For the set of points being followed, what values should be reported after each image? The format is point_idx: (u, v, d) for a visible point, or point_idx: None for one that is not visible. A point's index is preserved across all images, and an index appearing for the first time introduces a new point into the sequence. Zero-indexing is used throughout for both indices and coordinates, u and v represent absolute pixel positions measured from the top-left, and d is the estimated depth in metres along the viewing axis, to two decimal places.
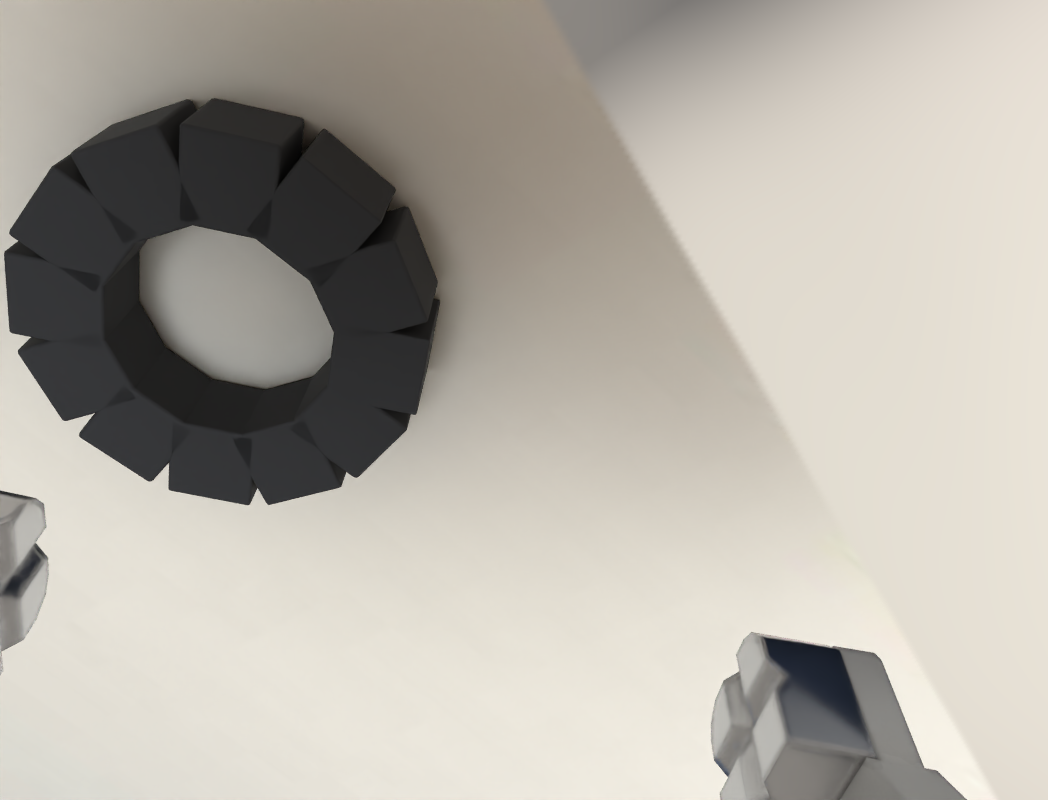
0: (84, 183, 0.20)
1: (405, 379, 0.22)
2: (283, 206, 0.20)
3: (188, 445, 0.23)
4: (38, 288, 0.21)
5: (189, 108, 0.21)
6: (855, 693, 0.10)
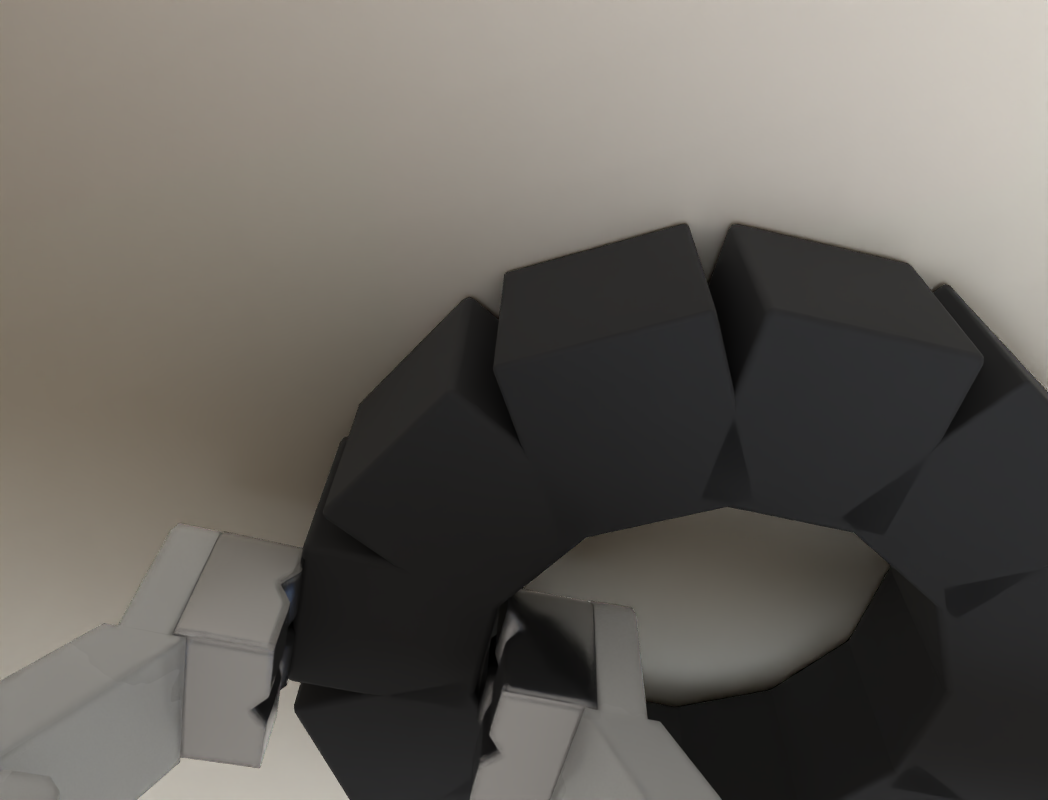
0: None
1: None
2: (560, 459, 0.09)
3: None
4: None
5: None
6: (595, 646, 0.10)
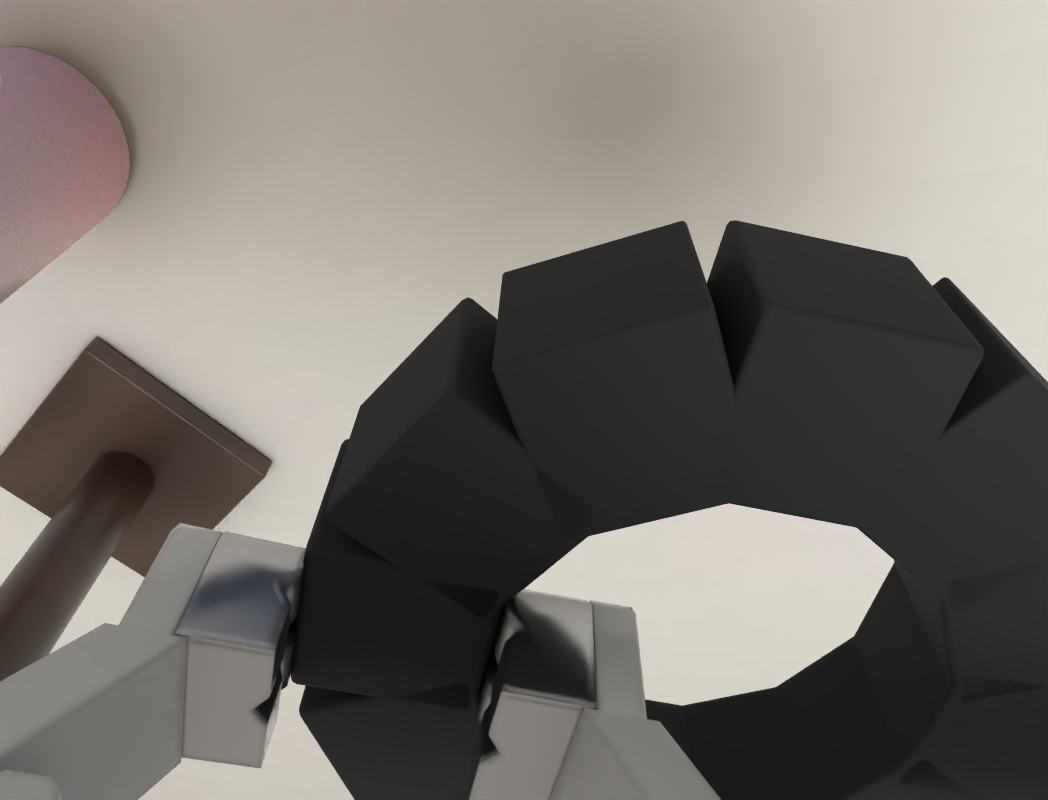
0: None
1: None
2: (561, 458, 0.09)
3: None
4: None
5: None
6: (594, 646, 0.10)
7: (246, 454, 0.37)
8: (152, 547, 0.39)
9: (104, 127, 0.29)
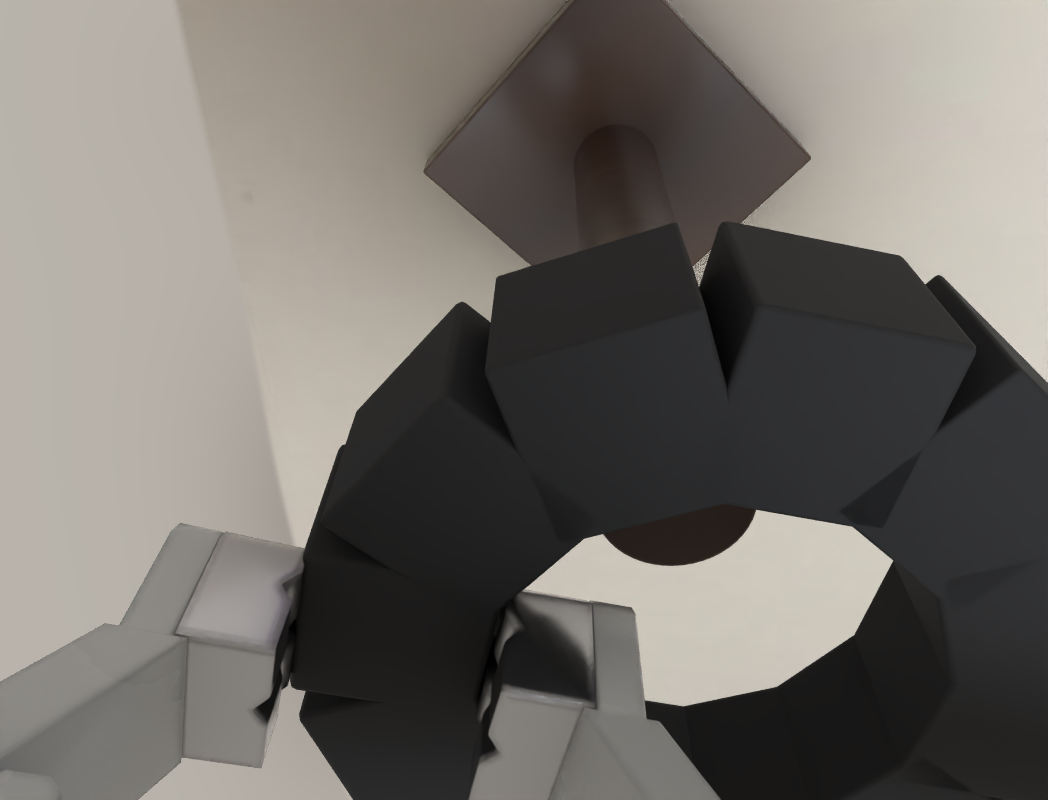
0: None
1: None
2: (555, 461, 0.09)
3: None
4: None
5: None
6: (594, 645, 0.10)
7: (786, 129, 0.27)
8: None
9: None
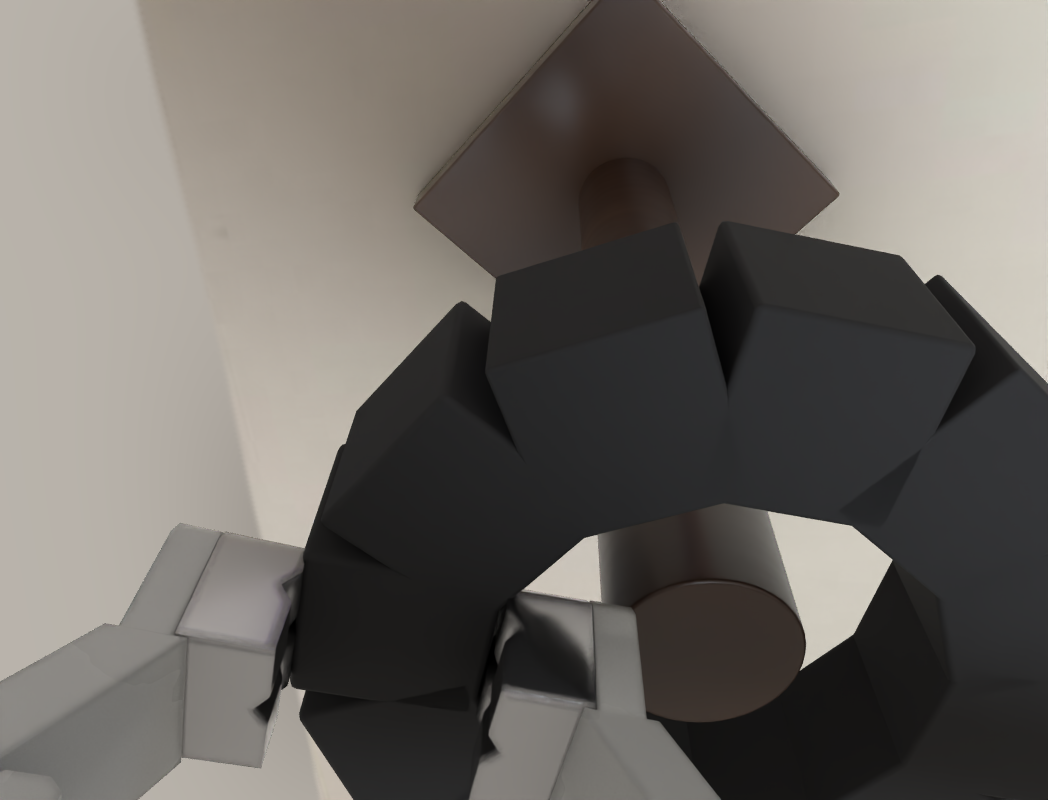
0: None
1: None
2: (556, 460, 0.09)
3: None
4: None
5: None
6: (594, 645, 0.10)
7: (811, 163, 0.25)
8: None
9: None
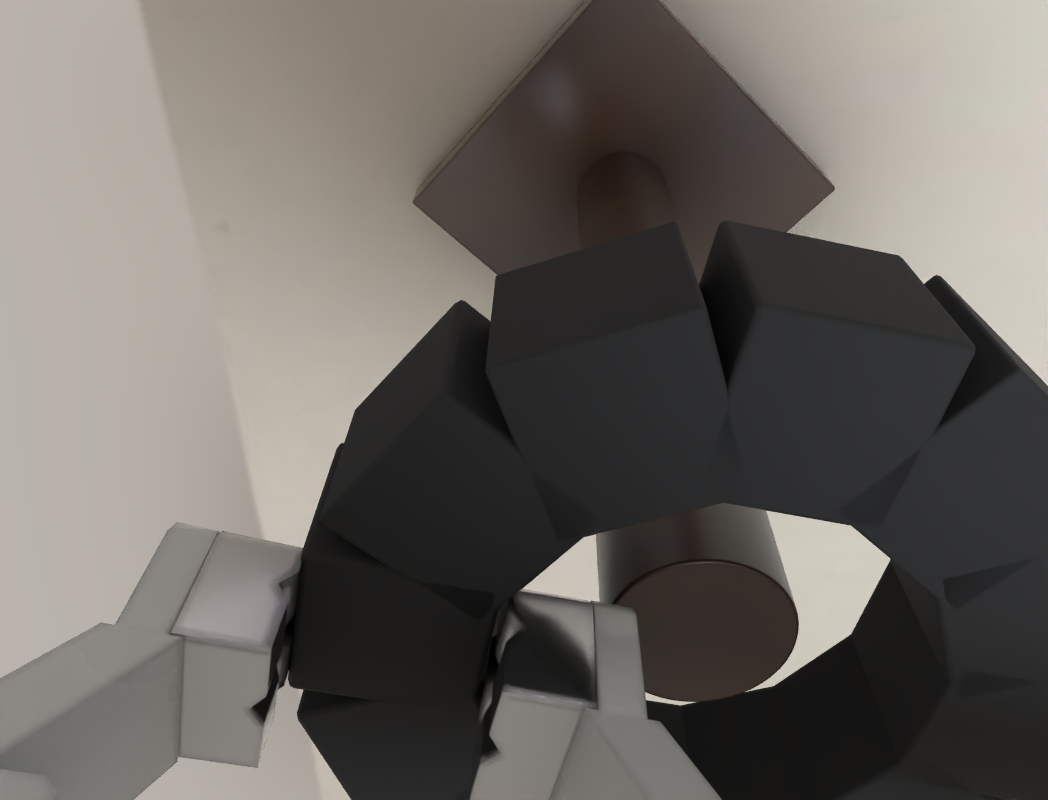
0: None
1: None
2: (555, 459, 0.09)
3: None
4: None
5: None
6: (595, 646, 0.10)
7: (807, 157, 0.25)
8: None
9: None
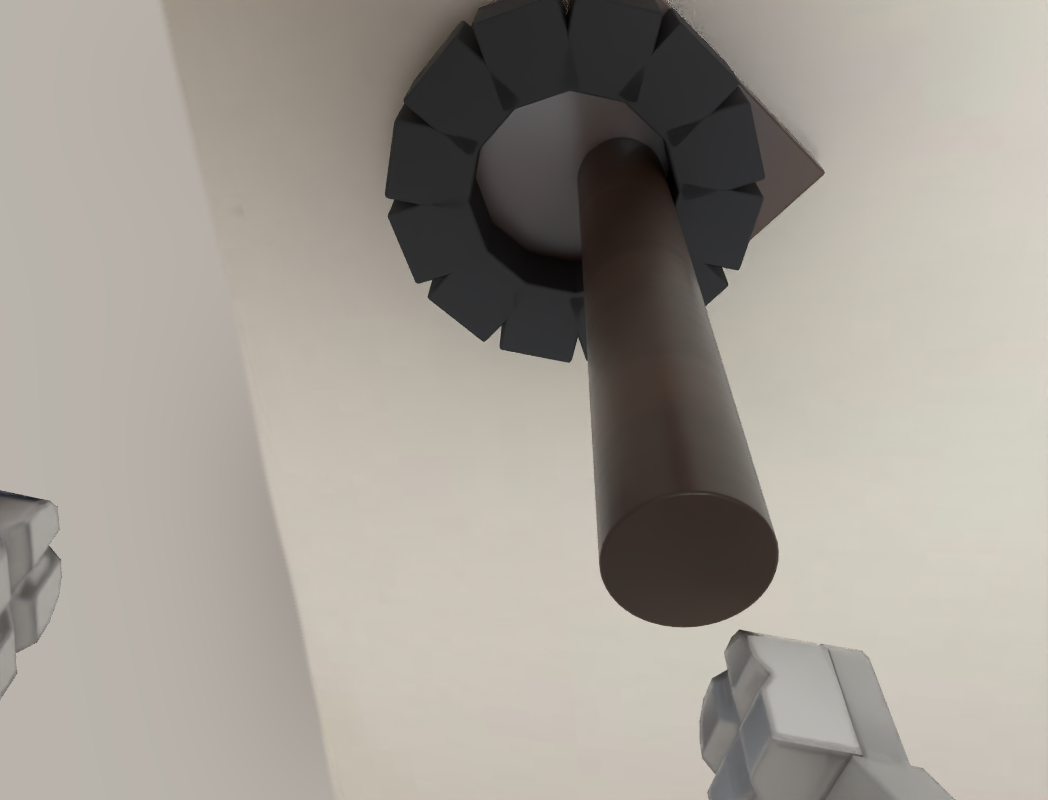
0: (411, 205, 0.25)
1: (702, 69, 0.23)
2: (501, 67, 0.23)
3: None
4: (464, 296, 0.26)
5: None
6: (842, 691, 0.10)
7: (798, 143, 0.26)
8: None
9: None
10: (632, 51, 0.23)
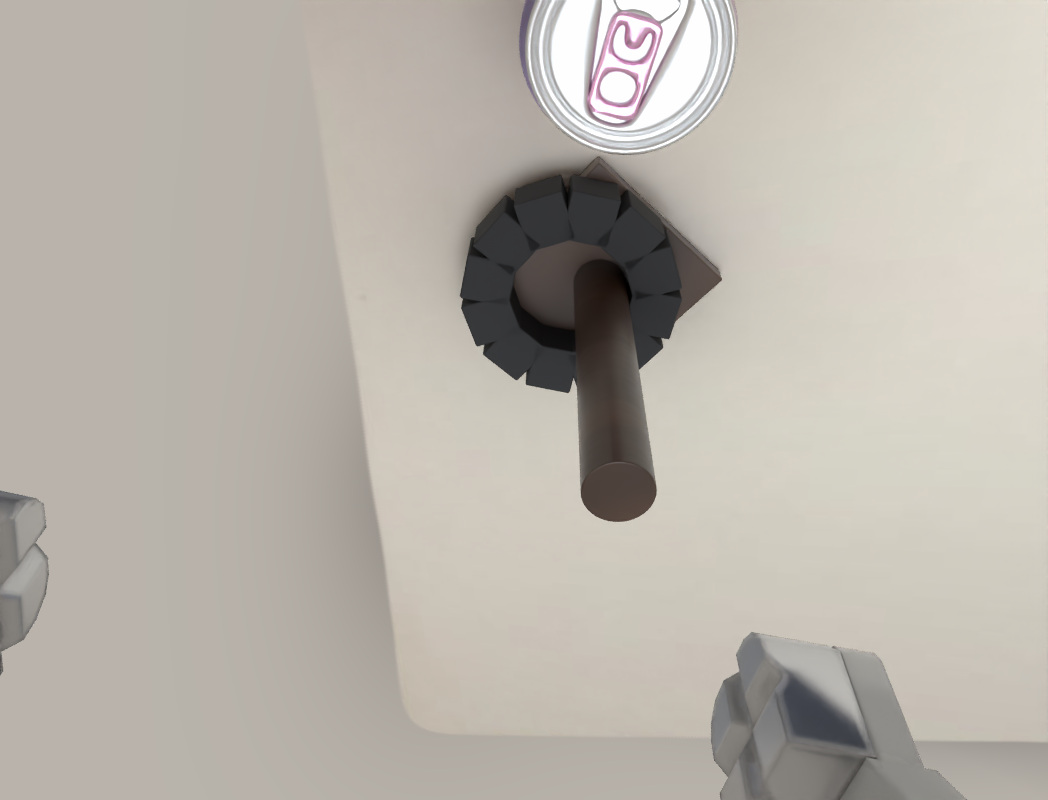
0: (475, 301, 0.42)
1: (643, 230, 0.40)
2: (529, 228, 0.40)
3: None
4: (505, 353, 0.43)
5: (474, 239, 0.42)
6: (855, 693, 0.10)
7: (706, 261, 0.43)
8: None
9: None
10: (604, 220, 0.40)
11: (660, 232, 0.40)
